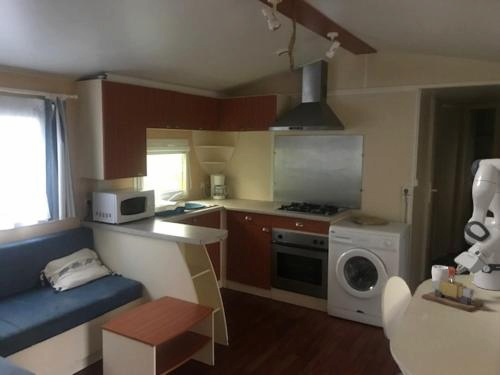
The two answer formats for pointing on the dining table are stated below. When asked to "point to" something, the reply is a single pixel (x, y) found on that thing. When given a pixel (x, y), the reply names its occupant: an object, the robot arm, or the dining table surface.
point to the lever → (451, 273)
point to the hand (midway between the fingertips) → (456, 273)
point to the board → (452, 302)
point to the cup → (439, 273)
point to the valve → (453, 290)
